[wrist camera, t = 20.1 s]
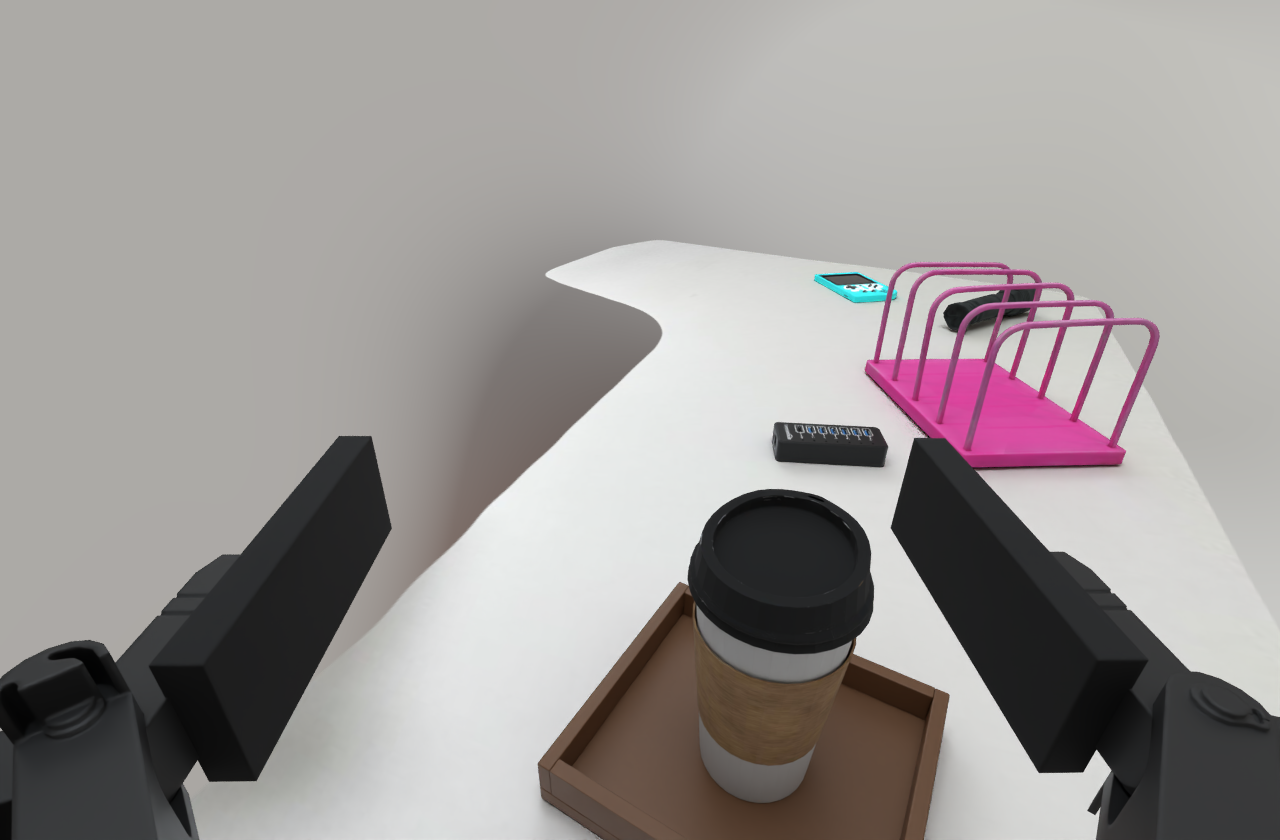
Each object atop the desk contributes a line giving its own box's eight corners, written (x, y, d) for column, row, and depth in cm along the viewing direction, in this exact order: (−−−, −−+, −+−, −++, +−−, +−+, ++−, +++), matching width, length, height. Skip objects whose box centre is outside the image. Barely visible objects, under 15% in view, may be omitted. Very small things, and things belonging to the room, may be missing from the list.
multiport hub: (884, 467, 62) (889, 447, 61) (775, 461, 63) (778, 441, 62) (874, 445, 66) (878, 426, 65) (771, 439, 67) (773, 421, 66)
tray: (540, 798, 33) (537, 763, 31) (677, 612, 45) (679, 581, 43) (881, 1026, 25) (896, 993, 23) (937, 727, 37) (949, 693, 35)
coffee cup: (852, 735, 35) (908, 524, 28) (792, 867, 29) (844, 641, 22) (723, 663, 39) (744, 465, 32) (647, 766, 33) (653, 549, 26)
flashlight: (1035, 314, 107) (1044, 286, 105) (965, 336, 97) (974, 305, 95) (1006, 307, 111) (1015, 279, 108) (937, 327, 101) (944, 297, 98)
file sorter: (958, 470, 62) (1002, 321, 55) (863, 372, 84) (885, 256, 77) (1122, 466, 63) (1187, 319, 56) (985, 369, 85) (1019, 255, 78)
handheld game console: (853, 302, 112) (854, 295, 111) (812, 279, 126) (813, 273, 125) (901, 299, 114) (903, 292, 114) (856, 277, 128) (857, 270, 127)
